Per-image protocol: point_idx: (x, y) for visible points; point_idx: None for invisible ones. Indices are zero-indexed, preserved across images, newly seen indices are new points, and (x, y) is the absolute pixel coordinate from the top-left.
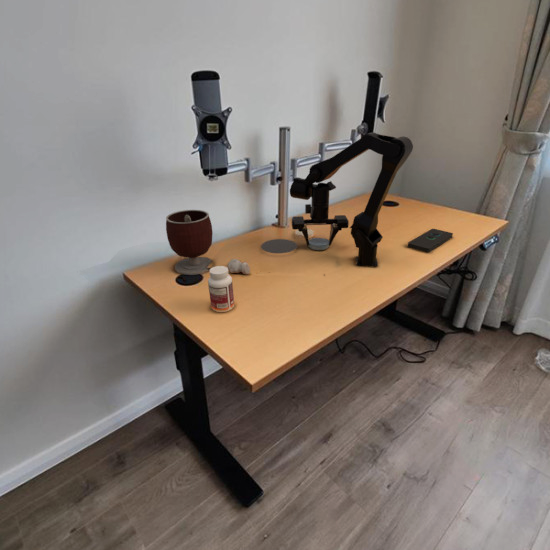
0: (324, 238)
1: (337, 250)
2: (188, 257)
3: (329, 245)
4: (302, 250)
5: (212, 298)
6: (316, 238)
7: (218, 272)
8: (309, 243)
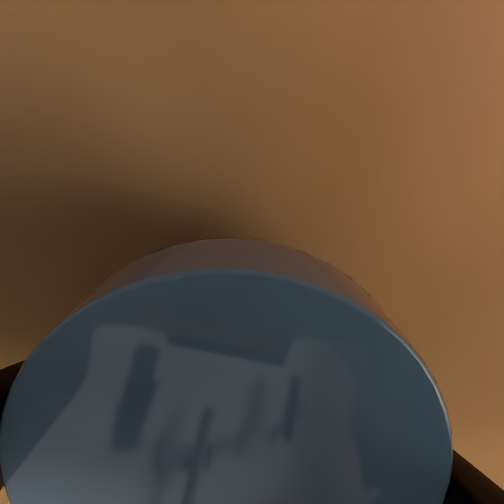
0: (421, 366)
1: (475, 410)
2: None
3: None
4: (11, 294)
5: None
6: (230, 322)
7: None
8: (15, 497)
